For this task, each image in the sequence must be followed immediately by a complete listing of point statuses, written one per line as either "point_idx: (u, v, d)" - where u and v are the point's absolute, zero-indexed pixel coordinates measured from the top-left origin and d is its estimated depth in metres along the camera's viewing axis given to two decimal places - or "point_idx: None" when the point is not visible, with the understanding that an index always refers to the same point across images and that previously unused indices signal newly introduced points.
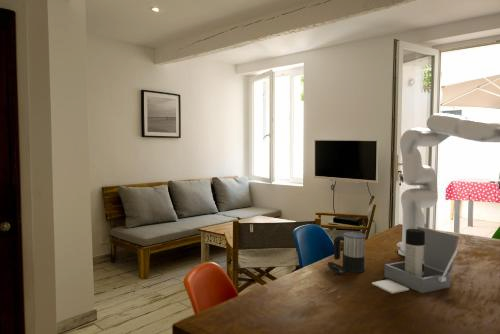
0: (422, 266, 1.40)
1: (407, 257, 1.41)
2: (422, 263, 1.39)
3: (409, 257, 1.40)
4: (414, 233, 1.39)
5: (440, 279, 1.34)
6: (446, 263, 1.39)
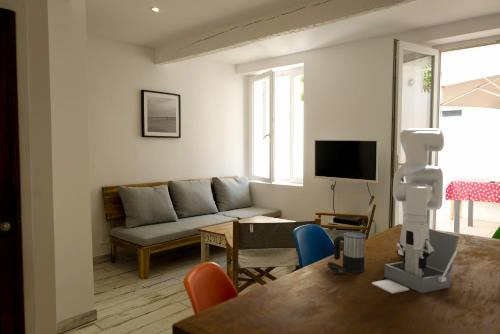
0: None
1: (407, 257, 1.41)
2: None
3: (409, 257, 1.40)
4: None
5: (440, 279, 1.34)
6: (446, 263, 1.39)
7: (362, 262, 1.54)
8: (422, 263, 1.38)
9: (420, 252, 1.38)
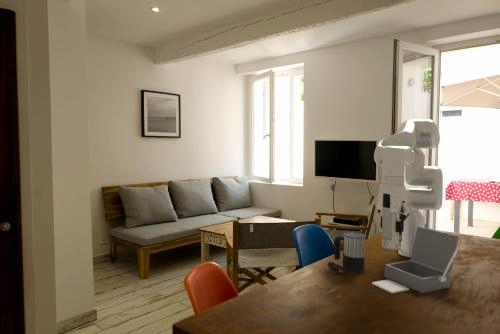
0: None
1: (384, 221, 1.35)
2: None
3: (385, 220, 1.35)
4: None
5: (440, 279, 1.34)
6: (446, 263, 1.39)
7: (362, 262, 1.54)
8: (399, 226, 1.32)
9: (397, 215, 1.32)
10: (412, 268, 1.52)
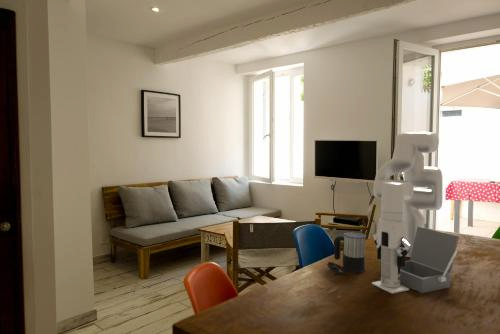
0: (398, 268, 1.35)
1: (382, 259, 1.36)
2: None
3: (384, 259, 1.36)
4: None
5: (440, 279, 1.34)
6: (446, 263, 1.39)
7: (362, 262, 1.54)
8: (400, 261, 1.32)
9: (397, 250, 1.32)
10: (412, 268, 1.52)
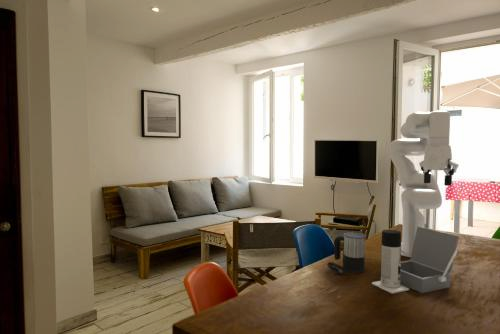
0: (398, 268, 1.35)
1: (383, 259, 1.36)
2: (398, 265, 1.35)
3: (384, 259, 1.36)
4: (390, 234, 1.34)
5: (440, 279, 1.34)
6: (446, 263, 1.39)
7: (362, 262, 1.54)
8: (448, 180, 1.47)
9: (445, 170, 1.47)
10: (412, 268, 1.52)
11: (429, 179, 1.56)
